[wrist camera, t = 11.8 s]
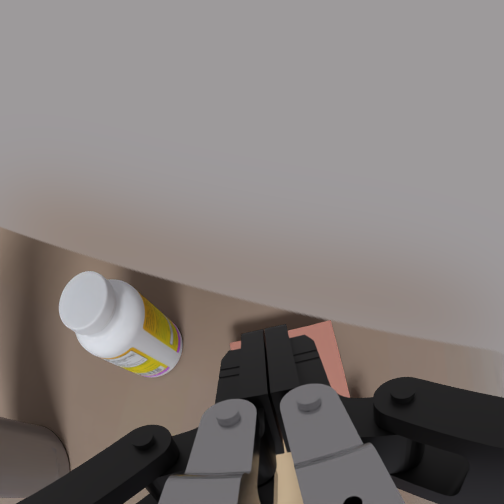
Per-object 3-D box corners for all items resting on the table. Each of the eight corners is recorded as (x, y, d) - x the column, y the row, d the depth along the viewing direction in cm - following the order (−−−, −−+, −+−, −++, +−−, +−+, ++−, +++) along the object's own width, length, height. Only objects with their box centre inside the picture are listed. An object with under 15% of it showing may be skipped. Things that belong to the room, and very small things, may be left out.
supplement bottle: (151, 307, 34) (85, 245, 23) (197, 338, 31) (136, 282, 21) (117, 355, 32) (37, 310, 21) (160, 391, 29) (81, 361, 18)
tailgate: (246, 442, 23) (229, 342, 28) (249, 441, 24) (233, 346, 29) (355, 419, 23) (330, 320, 27) (352, 419, 24) (329, 324, 29)
